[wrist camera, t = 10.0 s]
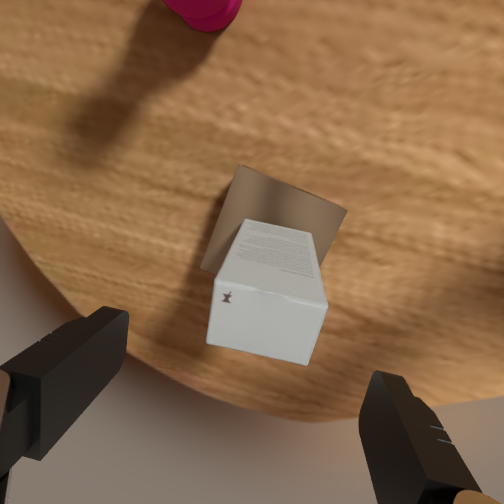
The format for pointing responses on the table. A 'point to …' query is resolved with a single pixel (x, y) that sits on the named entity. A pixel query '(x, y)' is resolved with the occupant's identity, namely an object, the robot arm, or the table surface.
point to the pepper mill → (205, 12)
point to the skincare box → (268, 294)
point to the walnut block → (271, 214)
